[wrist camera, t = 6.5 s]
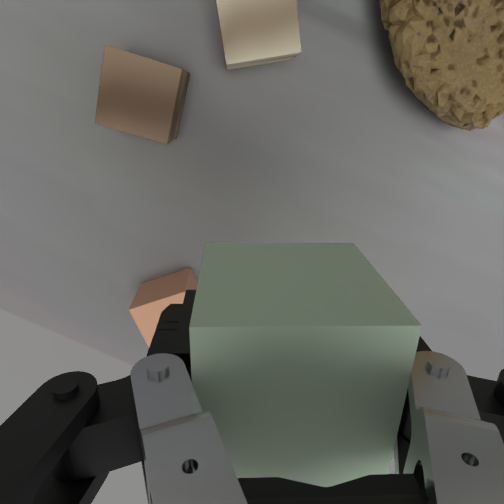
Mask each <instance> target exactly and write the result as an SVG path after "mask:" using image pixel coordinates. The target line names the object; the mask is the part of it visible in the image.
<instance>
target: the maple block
mask: <svg viewBox="0 0 504 504" xmlns="http://www.w3.org/2000/svg"><path fill="white" fill-rule="evenodd" d="M216 3H217V9H218V15H219V21H220V28H221V34H222V40H223V46H224V53H225V59H226V65H227V70H232V69H238V68H244V67H250V66H256V65H262V64H268V63H274V62H280V61H286V60H291V59H292V58H294V57H295V56H297V55H298V54H299V53H301V44H300V33H299V22H298V11H297V0H216Z"/></svg>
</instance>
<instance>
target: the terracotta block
mask: <svg viewBox="0 0 504 504" xmlns="http://www.w3.org/2000/svg"><path fill="white" fill-rule="evenodd" d="M197 284H198V282H197V280H196V278H195V275H194V273H193V271H192V269H191V267H190V268H187V269H184V270H181V271H178V272H175V273H172V274H169V275H166V276H163V277H160V278H157V279H154V280H150V281H147V282H144V283H142V284H141V286H140V288H139V290H138V292H137V294H136V296H135V298H134V300H133V302H132V304H131V306H130V308H129V311H130V313H131V315H132V317H133V319H134V321H135V323H136V324H137V326H138V328H139V330H140V332H141V334H142V336H143V338H144V339H145V341H146V343H147V345H148V347H150V344H151V341H152V338H153V336H154V333H155V331H156V327H157V324H158V321H159V318H160V315H161V312H162V311H163V310H164V309H165V308H166V307H167V306H169V305H170V304H183V301H184V297H185V293H186V290H196V289H197Z"/></svg>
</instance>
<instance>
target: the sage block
mask: <svg viewBox="0 0 504 504" xmlns="http://www.w3.org/2000/svg"><path fill="white" fill-rule="evenodd" d="M421 328H422V325H421V324H420V323H419V321H418V320H417V319H416V318H415V317H414V315H413V314H412V313H411V312H410V311H409V309H408V308H407V307H406V306H405V305H404V303H403V302H402V301H401V300H400V299H399V297H398V296H397V295H396V294H395V293H394V291H393V290H392V289H391V288H390V287H389V285H388V284H387V283H386V282H385V281H384V279H383V278H382V277H381V276H380V275H379V273H378V272H377V271H376V270H375V269H374V267H373V266H372V265H371V264H370V263H369V261H368V260H367V259H366V258H365V257H364V255H363V254H362V253H361V252H360V251H359V249H358V248H357V247H356V246H355V245H354V243H205V248H204V253H203V258H202V264H201V269H200V274H199V279H198V284H197V289H196V295H195V300H194V305H193V310H192V315H191V320H190V325H189V335H190V355H191V376H192V385H193V387H194V390H195V392H196V395H197V398H198V400H199V403H200V406H201V408H202V411H206V410H208V411H209V412H210V413H211V415H212V417H213V420H214V422H215V424H216V427H217V429H218V432H219V434H220V437H221V439H222V442H223V444H224V447H225V449H226V452H227V454H228V456H229V459H230V461H231V464H232V466H233V469H234V471H235V474H236V476H237V478H261V477H280V478H285V479H289V480H294V481H298V482H303V483H307V484H312V485H317V486H321V487H331V486H334V485H338V484H341V483H344V482H347V481H351V480H354V479H357V478H360V477H364V476H367V475H375V474H388V473H389V469H390V464H391V460H392V455H393V451H394V447H395V442H396V438H397V434H398V429H399V425H400V420H401V416H402V412H403V407H404V403H405V398H406V394H407V390H408V385H409V381H410V376H411V372H412V368H413V363H414V359H415V354H416V350H417V346H418V341H419V337H420V332H421Z"/></svg>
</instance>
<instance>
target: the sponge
mask: <svg viewBox="0 0 504 504" xmlns="http://www.w3.org/2000/svg"><path fill="white" fill-rule="evenodd" d="M380 9H381V20H382V22H383V25H384V28H385V30H388V31H389V36H388V37H389V39H390V43H391V47H392V51H393V55H394V64H395V65H396V66H397V68H398V69H399V70H400V72H401V73H402V75H403V76H404V78H405V82H406V86H407V87H408V88H410V89H411V91H412V92H413V93H414V95H415V97H416V98H418V99H419V100H420V101H421V102H422V103H424V104H425V105H426V106H427V107H428V109H429V110H430V111H432V112H433V113H435V114H436V115H437V117H438V118H439V119H441V120H442V121H443V122H445V123H447V124H449V125H451V126H454V127H457V128H461V129H462V130H463V129H466V130H472V129H475V128H480V129H483V128H486V127H488V125H489V123H490V122H491V120H492V119H494V118H495V117H497V116H499V115H501V114H503V112H504V0H380Z"/></svg>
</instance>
